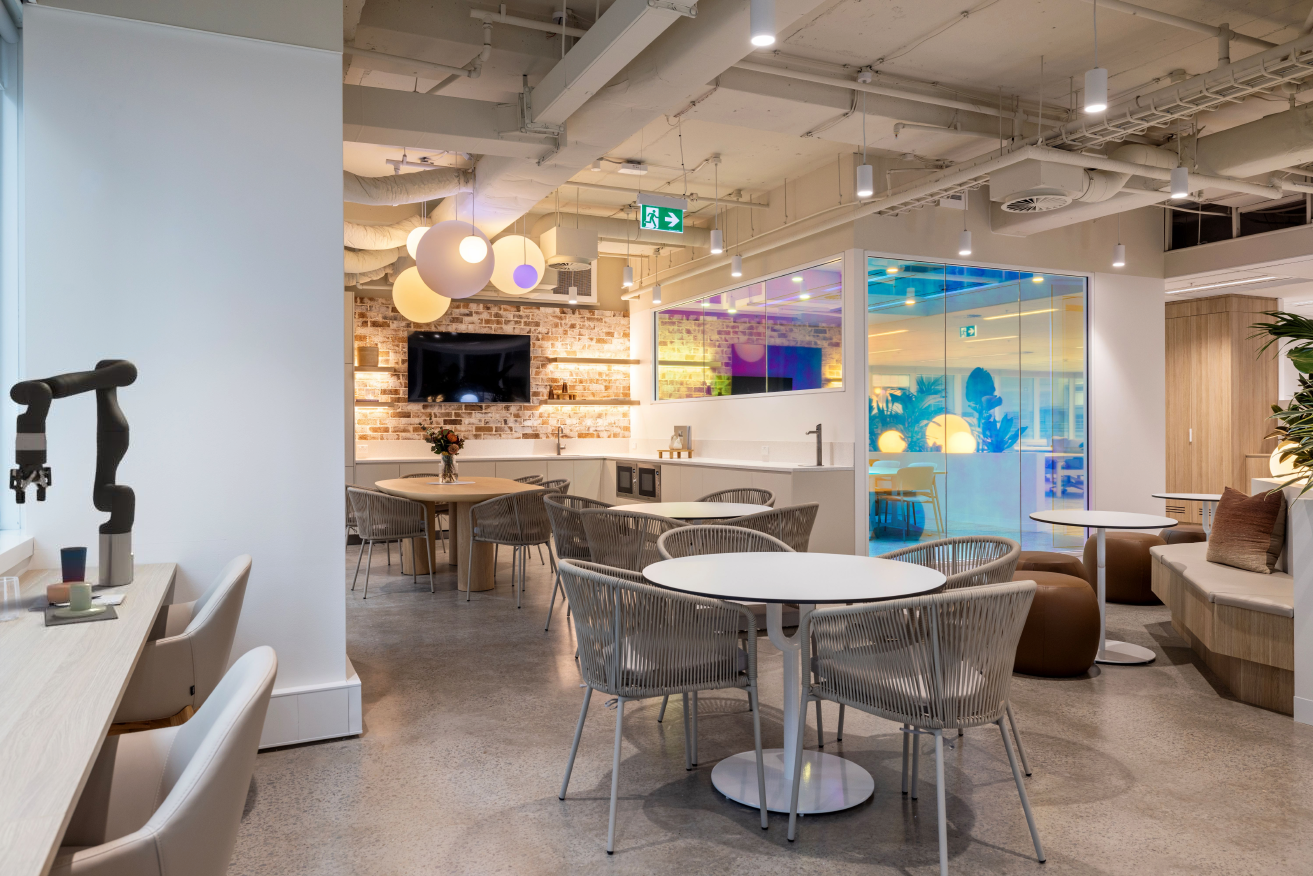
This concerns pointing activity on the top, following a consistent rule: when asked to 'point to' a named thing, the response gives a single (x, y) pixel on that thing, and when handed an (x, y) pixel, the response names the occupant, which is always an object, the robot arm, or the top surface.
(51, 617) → the mat
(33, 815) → the top surface
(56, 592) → the bowl
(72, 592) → the lid
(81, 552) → the cup
